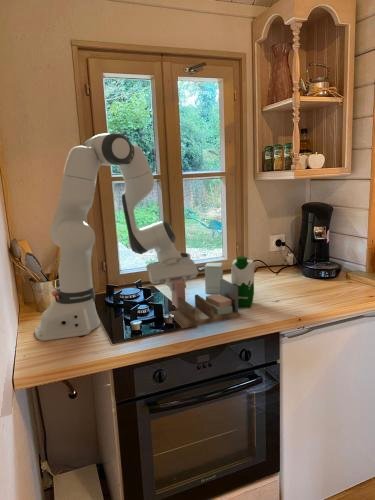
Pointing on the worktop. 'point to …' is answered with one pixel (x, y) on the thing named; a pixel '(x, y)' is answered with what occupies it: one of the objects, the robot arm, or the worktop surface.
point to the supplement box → (213, 277)
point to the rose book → (177, 291)
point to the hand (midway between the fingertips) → (178, 288)
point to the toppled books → (220, 304)
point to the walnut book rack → (198, 313)
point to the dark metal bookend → (230, 293)
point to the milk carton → (243, 280)
